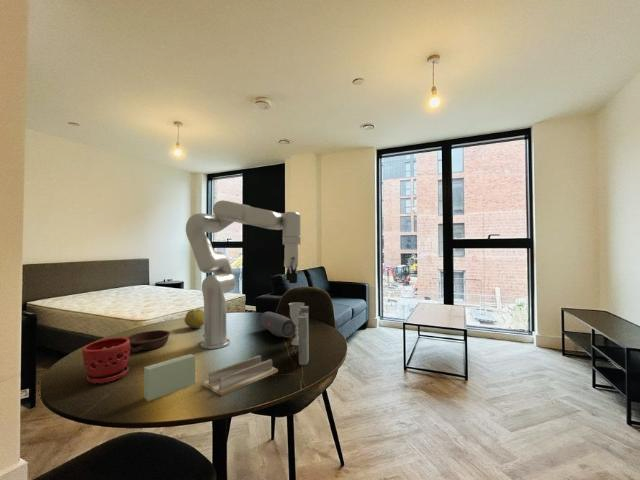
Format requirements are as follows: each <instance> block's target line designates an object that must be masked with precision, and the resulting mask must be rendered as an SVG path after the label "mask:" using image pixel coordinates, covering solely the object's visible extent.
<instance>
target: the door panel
mask: <svg viewBox="0 0 640 480" xmlns="http://www.w3.org/2000/svg"><path fill="white" fill-rule="evenodd" d="M143 369H144V371H143V373H144V374H143V377H144V378H143V379H144V381H143V383H144V384H143V388H144V390H143V391H144V392H143V396H144V399H145V400H146V401H147V402H150V401H153V400H155V399H159V398H161V397H163V396H166V395H168V394H169V395H170V394H171V393H174V392H177V391H179V390H183V389H185V388H187V387H190V386H191V387H192V386H193V385H195V384H196V355H194V354H191V353H189V354H185V355H181V356H179V357H174V358H171V359H167V360H165V361H161V362H158V363H155V364H151V365H147V366H144V367H143Z"/></svg>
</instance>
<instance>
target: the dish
mask: <svg viewBox="0 0 640 480" xmlns="http://www.w3.org/2000/svg"><path fill="white" fill-rule="evenodd" d="M170 335H171V332H170V331H169V330H161V329H160V330H157V329H156V330H148V331H142V332H137V333H134V334H131V335H129V336H127V337H126V338H128V339H129V340H130V352H131V353H137V352H141V351H140V350H144V351H151V350H155V349H158V348H161V347H163V346H164V345H166V344H167V342H168V340H169V336H170ZM150 349H151V350H150Z"/></svg>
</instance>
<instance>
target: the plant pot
mask: <svg viewBox="0 0 640 480" xmlns="http://www.w3.org/2000/svg"><path fill="white" fill-rule="evenodd" d="M103 348H104V349H103ZM130 354H131V353H130V340H129V339H128V338H127V337H110V338H105V339H101V340H97V341H93V342H91V343H88V344H86V345H85V346H84V347H82V361H83V365H84V368H85V371H86V372H87V374H88V375H87V377H86V379H87V381H88V382H89V383H90V384H96V383H99V384H106V383H111V382H110V381H112V382H114V381H116V379H117V380H119V379H121V378H123V377H124V376H126V374H127V373H128V372H129V366H128V365H127V364H128V363H129V360H130ZM113 380H114V381H113ZM105 382H106V383H105Z"/></svg>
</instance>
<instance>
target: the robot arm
mask: <svg viewBox="0 0 640 480" xmlns="http://www.w3.org/2000/svg"><path fill="white" fill-rule="evenodd" d="M212 211H213V214H209V213H201V212H200V213H199V212H198V213H194V214H192V215H191V216H190V217H189V218H188V219H187V221H186V224H185V233H186V237H187V240H188V242H189V244H190V247H191V250H192V253H193V256H194V259H195V262H196V265H197V268H198V269H199V271H200V272H202V273H205V274H211V273H213V274H211V275H208V276H206V277H205V278H204V279H203V281H202V283H201V292H202V298H203V312H204V325H203V333H202V338H203V340H202V341H201V342H200V347H201V348H202V349H207V350H208V349H209V350H216V349H220V348H225V347H227V346H228V345H230V344H231V340H230V339H229V338H227V300H226V297H225V295H224V294H227V293H230V292H232V291H234V289H235V287H236V283H237V282H236V277H235V273H234V271H233V268H232V266H231V263H230V261H229V258H228V256H227V255H226V254H225V253H223V252H220V251H215V249H214V248H213V246H212V245H213V244H212V243H211V240H210V239H209V237H208V236H207V235H206V233H216V234H217V233H219V232H221V231H224V229H226V228H228V227H229V226H230V225H232V224H233V223H238V224H242V225H249V226H254V227H259V228H263V229H266V230H276V231H280V230H282V246H283V245H284V258H283V259H284V261H283V267H285V268H286V277H285V278H286V281H288V283H289V284H298V270H297V269H298V267H299V245H301V213H299V212H298V211H286V212H284V213H282V212H276V211H274V210H269V209H264V208H260V207H254V206H251V205H249V204H244V203H238V202H235V201H229V200H217V202H215V203H214V204H213V206H212Z"/></svg>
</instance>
